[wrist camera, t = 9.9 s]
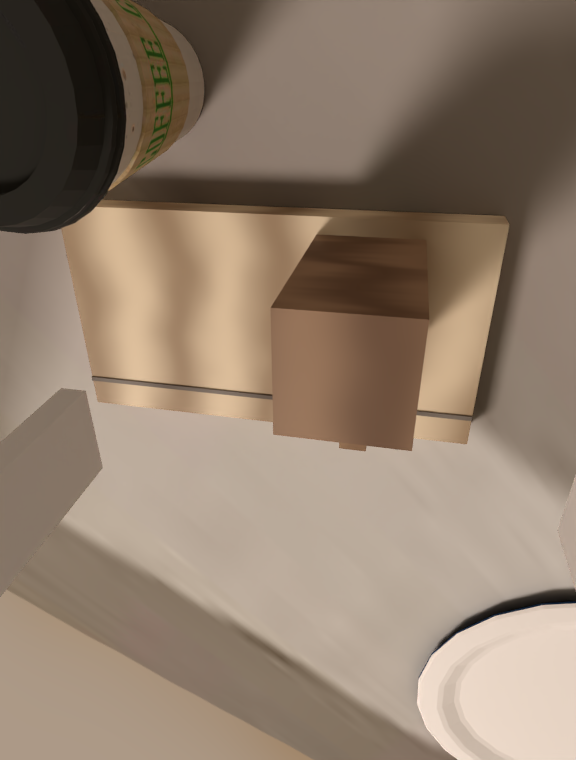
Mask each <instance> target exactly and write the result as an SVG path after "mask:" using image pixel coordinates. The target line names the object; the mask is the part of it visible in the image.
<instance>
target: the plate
mask: <svg viewBox="0 0 576 760" xmlns="http://www.w3.org/2000/svg"><path fill="white" fill-rule="evenodd" d="M417 705H418V707H419V710H420V713H421V715H422V718H423V720H424V723H425V726H426V728H427V729H428V730H429V732H430V733H431V734H432V735H433V736H434V738H435V739H436V740H437V741H438V742H439V744H440V745H441V746H442V747H443V748H444V750H445V751H447V752H448V753H449V754H451V755H452V756H454V757H455V758H456V759H458V760H576V601H575V602H556V603H541V604H537V605H533V606H528V607H524V608H520V609H515V610H511V611H507V612H502V613H498V614H494V615H492V616H490V617H488V618H486V619H483V620H481V621H479V622H477V623H475V624H473V625H471V626H468V627H466V628H464V629H462V630H460V631H458V632H456V633H455V634H454V635H453V636H452V637H450V638H449V639H448V640H447V641H446V642H445V643H443V644H442V645H441V646H440V647H439V648H438V649H436V650H435V651H434V652H433V653H432V654H431V656H430V658H429V660H428V661H427V663H426V665H425V667H424V669H423V671H422V672H421V674H420V676H419V681H418V699H417Z"/></svg>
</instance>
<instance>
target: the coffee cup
mask: <svg viewBox="0 0 576 760" xmlns="http://www.w3.org/2000/svg"><path fill="white" fill-rule="evenodd" d="M204 94H205V93H204V78H203V72H202V68H201V65H200V62H199V60H198V57H197V55H196V53H195V51H194V50H193V48H192V46H191V44H190V43H189V42H188V41H187V40H186V38H185V37H184V36H183V35H182V34H181V33H180V32H179V31H178V30H176V29H175V28H174V27H172V26H171V25H169V24H167V23H165V22H163V21H162V20H160V19H158V18H157V17H156V16H154V15H153V14H152V13H151V12H150V11H149V10H147V9H145V8H144V7H142V6H140V5H138V4H136V3H135V2H133V1H131V0H0V231H7V232H16V233H24V234H27V233H38V232H47V231H55V230H58V229H61V228H63V227H66V226H69V225H71V224H74V223H76V222H77V221H79V220H80V219H81V218H83V217H84V216H86V215H87V214H89V213H90V212H91V211H92V210H93V209H94V208H95V207H96V206H97V205H98V203H99V202H100V201H101V200H102V199H103V198H104V196H105V195H106V194H107V192H108V191H110V190H111V189H112V188H114V187H115V186H117V185H118V184H120V183H121V182H122V181H124V180H125V179H127V178H128V177H130V176H131V175H132V174H134V173H135V172H137V171H138V170H140V169H141V168H142V167H144V166H145V165H147V164H148V163H150V162H151V161H152V160H154V159H155V158H157V157H158V156H160V155H161V154H162V153H164V152H165V151H167V150H168V149H169V148H170V147H171V145H172V144H173V143H174V142H176V141H177V140H179V139H180V138H182V137H183V136H184V135H186V134H187V133H188V132H189V131H190V130H191V129H192V127H193V126H194V125H195V123H196V121H197V120H198V118H199V116H200V113H201V110H202V107H203V101H204Z"/></svg>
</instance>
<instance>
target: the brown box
mask: <svg viewBox="0 0 576 760" xmlns="http://www.w3.org/2000/svg"><path fill="white" fill-rule="evenodd" d="M270 311H271V353H272V396H273V435H282V436H290V437H299V438H307V439H315V440H324V441H332V442H339V448H343V449H351V450H359V451H366V446H374V447H383V448H391V449H399V450H408V451H412V445H413V438H414V430H415V423H416V415H417V408H418V400H419V393H420V385H421V378H422V370H423V363H424V355H425V348H426V340H427V333H428V326H429V298H428V271H427V243H426V240H420V239H399V238H379V237H359V236H338V235H318V234H316V236H315V238H314V239H313V241H312V242H311V244H310V246H309V247H308V249H307V250H306V252H305V254H304V255H303V257H302V258H301V260H300V261H299V263H298V265H297V266H296V268H295V269H294V271H293V273H292V274H291V276H290V277H289V279H288V281H287V282H286V284H285V285H284V287H283V289H282V290H281V292H280V293H279V295H278V296H277V298H276V300H275V301H274V303H273V304H272V306H271V308H270Z"/></svg>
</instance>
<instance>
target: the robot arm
mask: <svg viewBox="0 0 576 760" xmlns="http://www.w3.org/2000/svg"><path fill="white" fill-rule="evenodd" d="M102 468H103V467H102V462H101V458H100V453H99V449H98V444H97V440H96V435H95V431H94V426H93V422H92V417H91V413H90V408H89V404H88V399H87V395H86V391H82V390H73V389H64V388H61V389H60V390H59V391H58V392H56V393H55V394H54V395H53V396H52V397H51V398H50V399H49V400H47V401H46V402H45V403H44V404H43V405H42V406H41V407H40V408H39V409H37V410H36V411H35V412H34V413H33V414H32V415H31V416H30V417H28V418H27V419H26V420H25V421H24V422H23V423H22V424H21V425H20V426H18V427H17V428H16V429H15V430H14V431H13V432H12V433H11V434H9V435H8V436H7V437H6V438H5V439H4V440H3V441H2V442H1V443H0V597H1V595H2V594H3V593H4V592H5V590H6V589H7V588H8V587H9V585H10V584H11V583H12V582H13V580H14V579H15V578H16V577H17V575H18V574H19V573H20V571H21V570H22V569H23V568H24V566H25V565H26V564H27V563H28V561H29V560H30V559H31V558H32V556H33V555H34V554H35V553H36V551H37V550H38V549H39V547H40V546H41V545H42V544H43V542H44V541H45V540H46V539H47V537H48V536H49V535H50V534H51V532H52V531H53V530H54V529H55V527H56V526H57V525H58V523H59V522H60V521H61V520H62V518H63V517H64V516H65V515H66V513H67V512H68V511H69V510H70V508H71V507H72V506H73V505H74V503H75V502H76V501H77V499H78V498H79V497H80V496H81V494H82V493H83V492H84V491H85V489H86V488H87V487H88V486H89V484H90V483H91V482H92V481H93V479H94V478H95V477H96V475H97V474H98V473H99V472H100V470H101V469H102ZM558 533H559V537H560V540H561V543H562V547H563V550H564V553H565V557H566V560H567V563H568V567H569V570H570V573H571V577H572V580H573V583H574V586H575V590H576V476H575V479H574V482H573V485H572V488H571V491H570V494H569V497H568V500H567V503H566V506H565V509H564V512H563V515H562V518H561V521H560V524H559V527H558Z"/></svg>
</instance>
